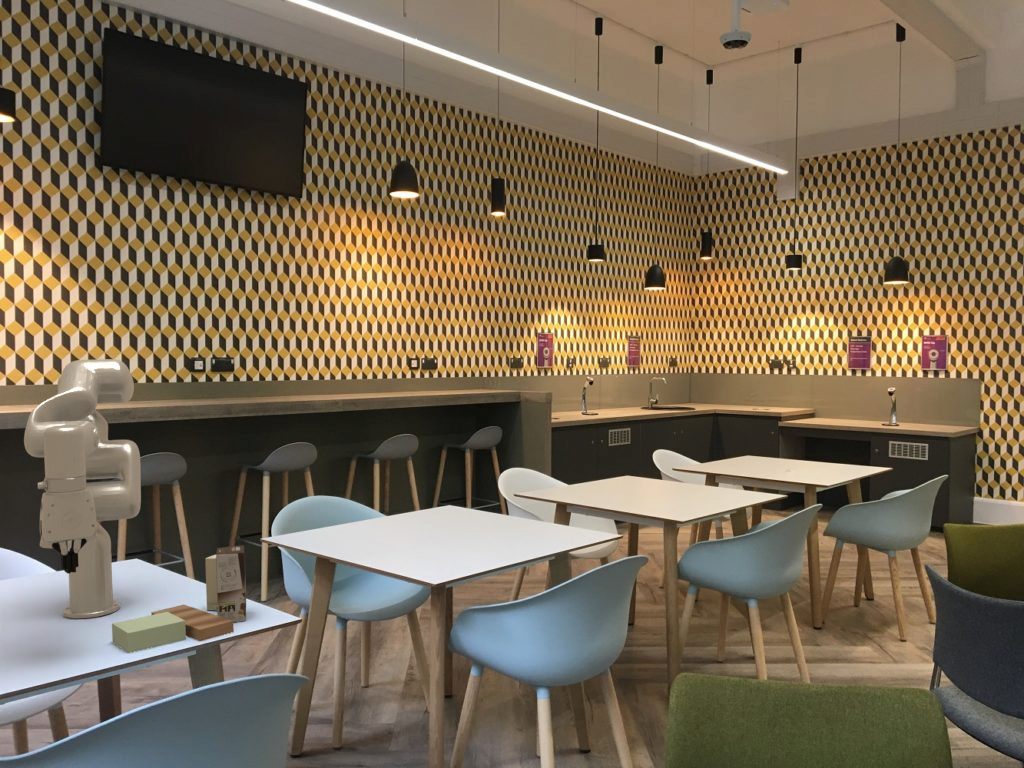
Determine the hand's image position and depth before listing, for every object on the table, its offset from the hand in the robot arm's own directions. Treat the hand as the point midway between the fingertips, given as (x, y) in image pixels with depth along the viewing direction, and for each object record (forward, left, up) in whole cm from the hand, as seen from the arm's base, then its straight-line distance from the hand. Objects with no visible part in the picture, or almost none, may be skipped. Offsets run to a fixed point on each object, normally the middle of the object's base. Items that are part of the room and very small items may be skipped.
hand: (70, 571), depth 182 cm
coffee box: (0, +35, -17) cm, 39 cm away
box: (-10, +36, -17) cm, 41 cm away
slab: (+4, +14, -17) cm, 23 cm away
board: (+1, +25, -18) cm, 30 cm away
